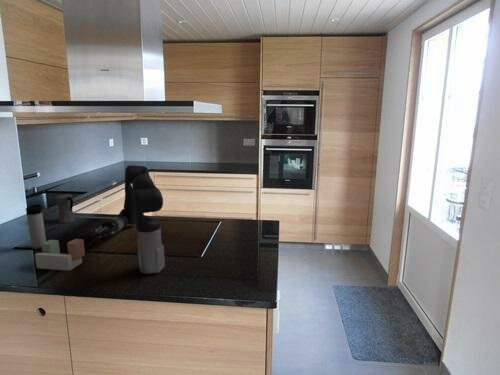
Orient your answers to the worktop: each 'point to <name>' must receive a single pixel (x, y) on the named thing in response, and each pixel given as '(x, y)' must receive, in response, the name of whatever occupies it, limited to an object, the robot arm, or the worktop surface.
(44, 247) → the green rectangular block
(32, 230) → the travel mug
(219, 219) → the worktop surface
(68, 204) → the coffeepot
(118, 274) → the worktop surface
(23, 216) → the worktop surface
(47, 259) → the console
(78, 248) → the terracotta rectangular block
